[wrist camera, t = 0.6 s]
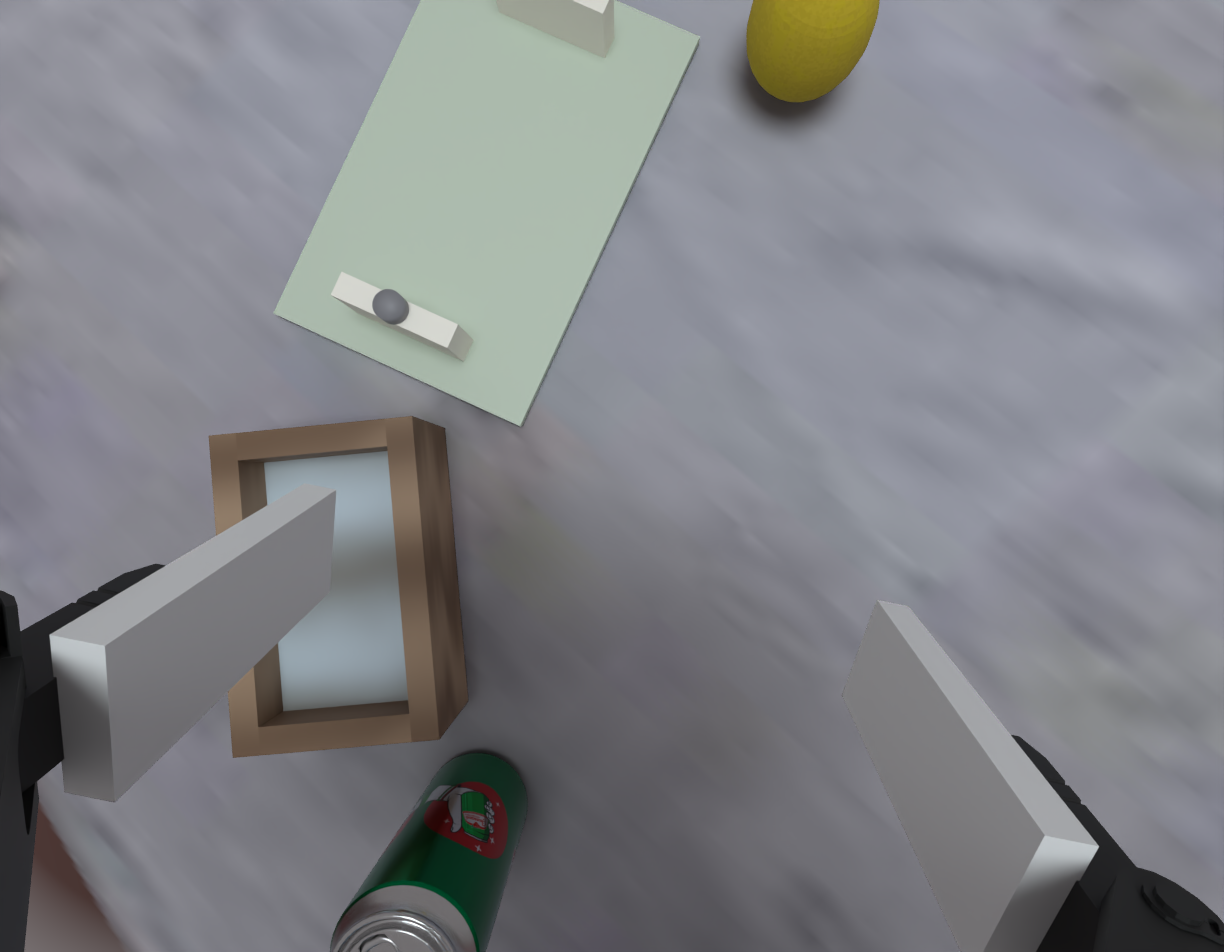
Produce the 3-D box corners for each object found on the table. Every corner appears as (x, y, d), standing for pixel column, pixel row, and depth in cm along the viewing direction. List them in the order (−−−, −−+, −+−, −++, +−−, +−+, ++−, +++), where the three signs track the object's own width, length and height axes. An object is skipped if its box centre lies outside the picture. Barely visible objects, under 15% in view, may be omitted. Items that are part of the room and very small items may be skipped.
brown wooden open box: (468, 700, 32) (439, 739, 27) (293, 716, 32) (232, 757, 27) (444, 428, 32) (411, 416, 27) (272, 444, 32) (208, 435, 27)
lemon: (742, 23, 33) (780, -131, 25) (848, 38, 32) (921, -111, 24) (725, 126, 32) (758, 6, 24) (831, 142, 32) (899, 27, 24)
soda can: (459, 866, 32) (358, 1094, 20) (412, 776, 32) (285, 948, 20) (547, 820, 32) (500, 1019, 20) (500, 730, 32) (426, 873, 20)
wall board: (521, 427, 32) (505, 417, 28) (278, 315, 33) (226, 289, 28) (698, 43, 33) (710, -25, 28) (456, -62, 33) (431, -145, 29)
